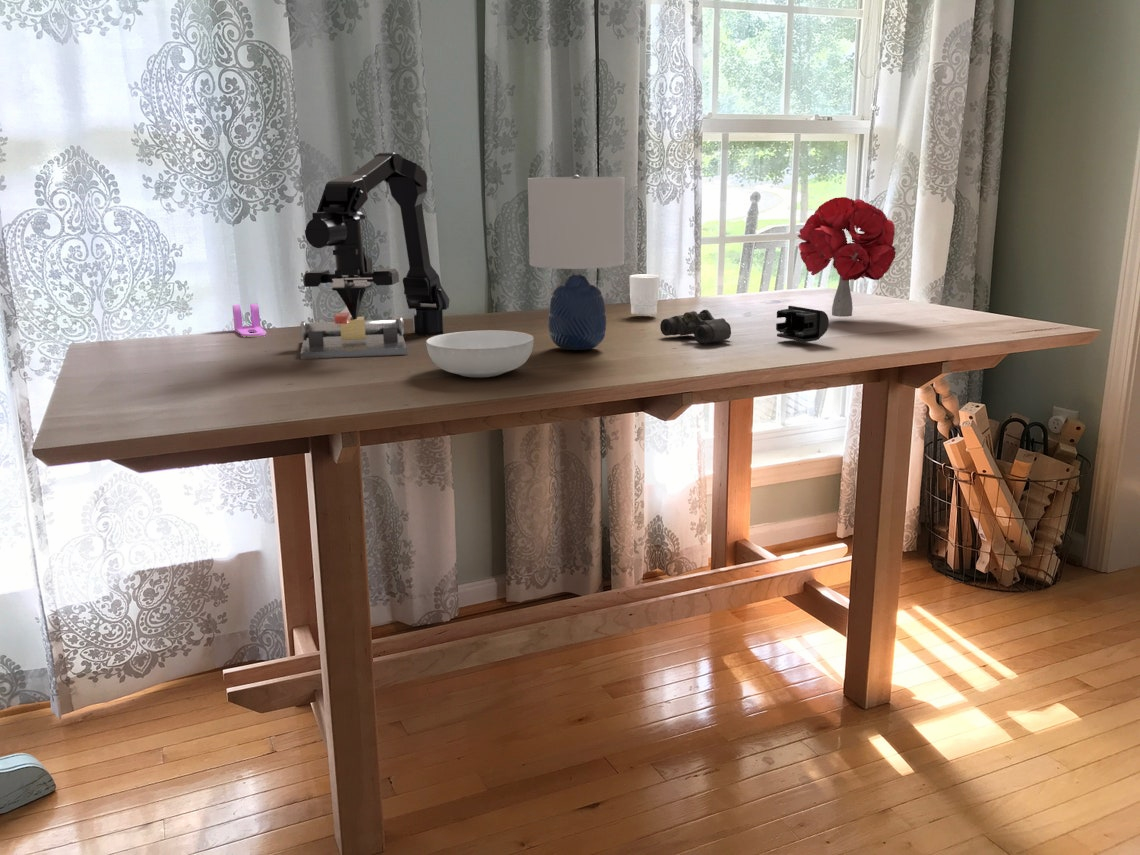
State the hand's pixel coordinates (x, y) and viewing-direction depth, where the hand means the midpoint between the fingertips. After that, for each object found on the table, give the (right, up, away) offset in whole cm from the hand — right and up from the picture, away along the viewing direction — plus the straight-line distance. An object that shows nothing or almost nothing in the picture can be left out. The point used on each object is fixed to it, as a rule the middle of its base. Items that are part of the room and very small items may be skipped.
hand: (355, 319), depth 202 cm
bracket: (-32, -1, +30) cm, 44 cm away
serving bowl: (+28, -12, -13) cm, 33 cm away
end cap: (+98, -2, +20) cm, 100 cm away
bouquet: (+116, +6, +49) cm, 127 cm away
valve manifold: (-3, -5, +12) cm, 13 cm away
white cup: (+65, +8, +56) cm, 86 cm away
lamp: (+47, -5, +11) cm, 48 cm away
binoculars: (+75, -2, +23) cm, 79 cm away
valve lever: (-2, +1, +3) cm, 4 cm away
